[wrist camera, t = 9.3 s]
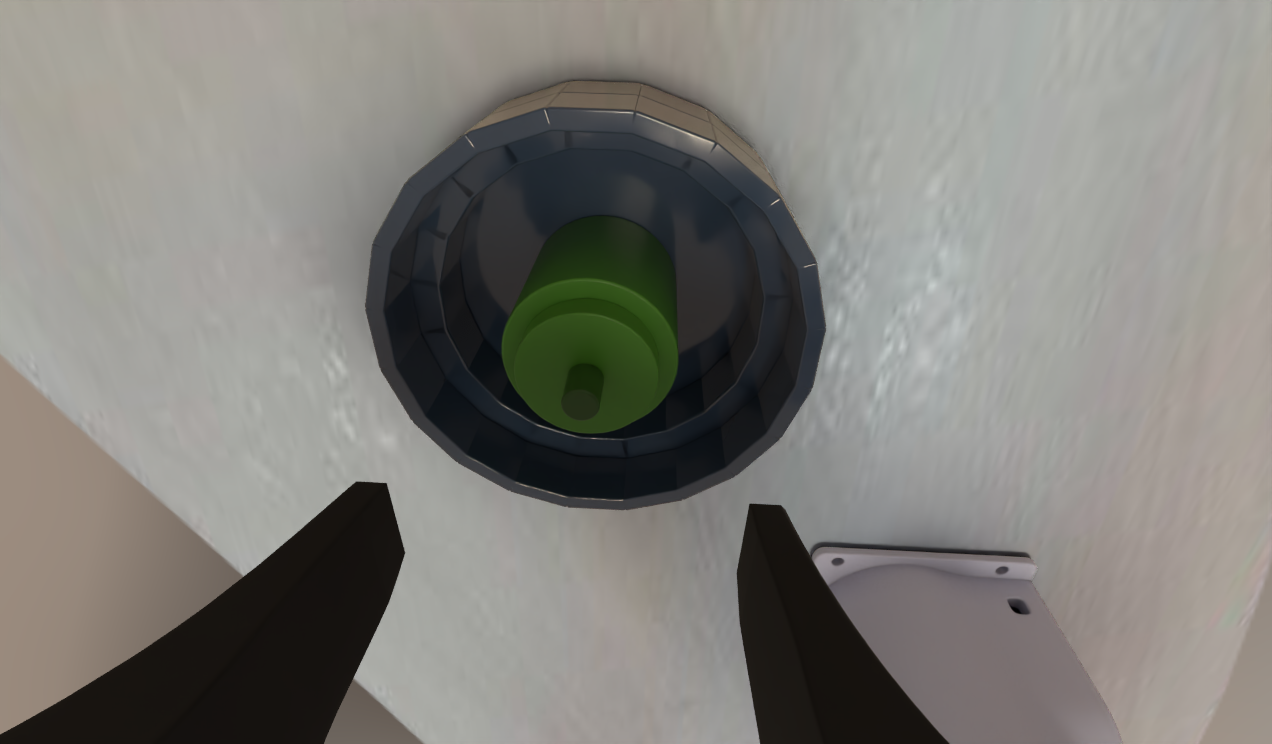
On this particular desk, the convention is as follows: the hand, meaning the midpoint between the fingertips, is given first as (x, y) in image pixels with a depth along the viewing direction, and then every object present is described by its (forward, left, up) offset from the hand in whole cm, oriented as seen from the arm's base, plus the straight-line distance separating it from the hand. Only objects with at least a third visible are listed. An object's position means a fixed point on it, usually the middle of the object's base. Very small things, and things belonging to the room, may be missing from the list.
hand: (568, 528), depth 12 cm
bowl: (0, -1, -10) cm, 10 cm away
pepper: (0, -1, -9) cm, 9 cm away
